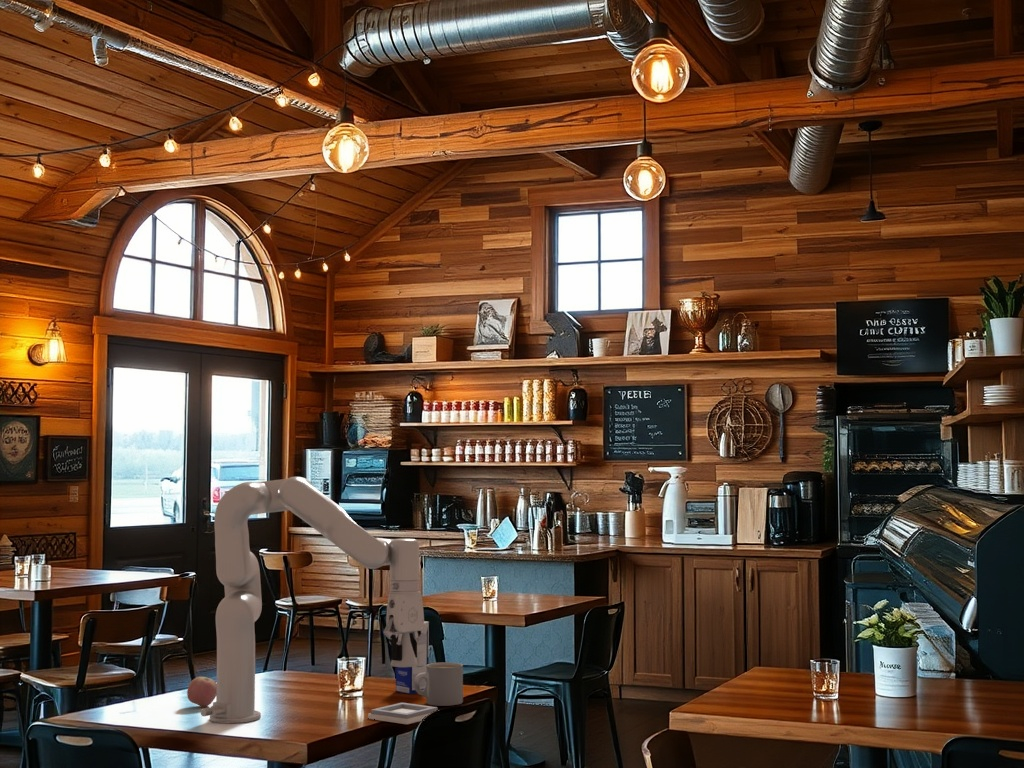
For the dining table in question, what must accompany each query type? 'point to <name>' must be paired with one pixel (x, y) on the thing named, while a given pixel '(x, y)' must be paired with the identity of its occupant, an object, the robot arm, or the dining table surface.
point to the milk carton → (408, 674)
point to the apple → (202, 691)
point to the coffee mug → (442, 684)
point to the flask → (406, 653)
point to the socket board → (401, 713)
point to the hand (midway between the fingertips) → (404, 658)
